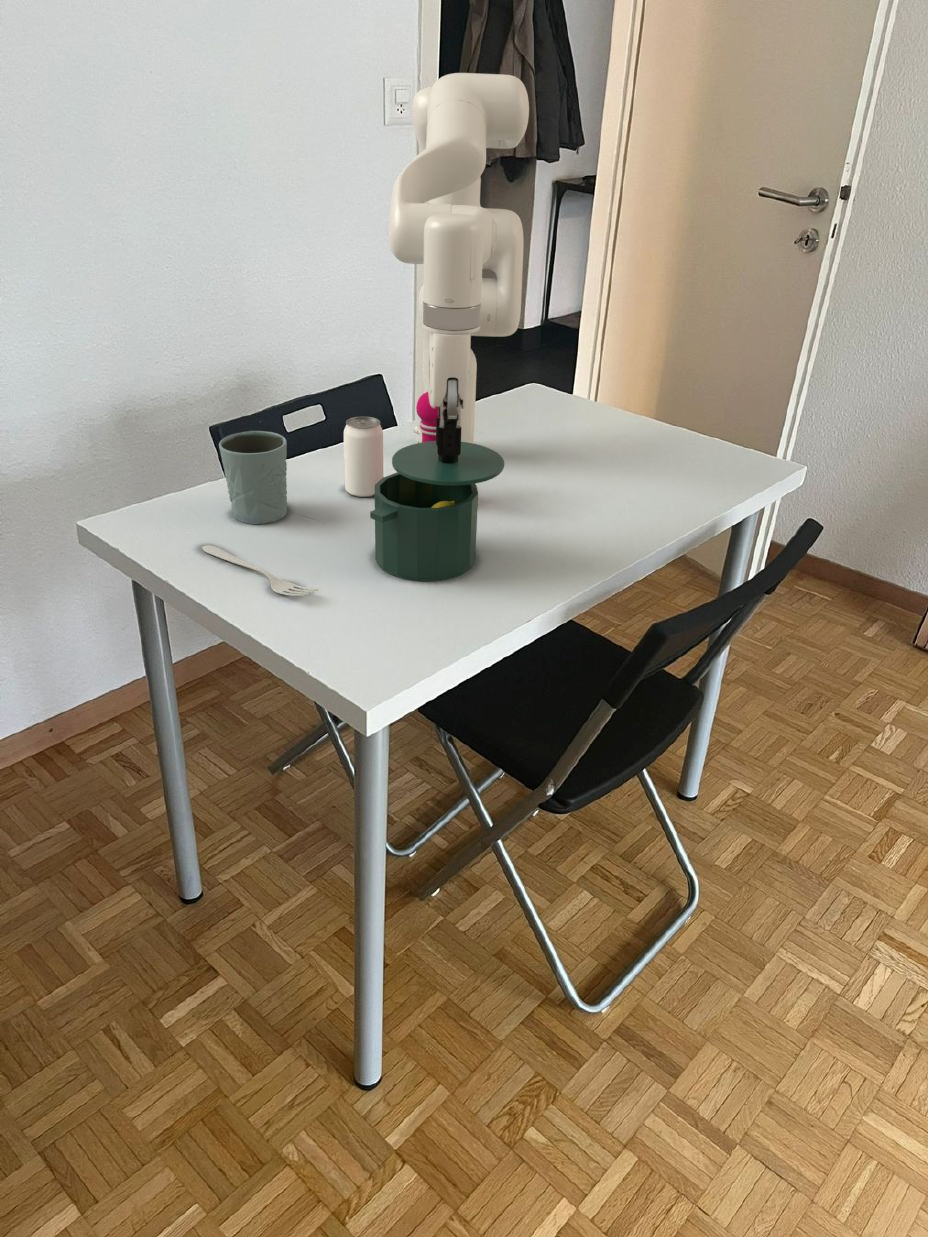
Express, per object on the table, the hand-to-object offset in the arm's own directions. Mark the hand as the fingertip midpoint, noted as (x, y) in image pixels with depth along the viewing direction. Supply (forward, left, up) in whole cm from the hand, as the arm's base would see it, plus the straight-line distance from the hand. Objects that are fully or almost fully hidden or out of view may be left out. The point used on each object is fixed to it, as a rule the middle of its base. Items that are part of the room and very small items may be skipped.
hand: (448, 449), depth 137 cm
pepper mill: (-17, +11, -17) cm, 26 cm away
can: (-27, +4, -17) cm, 32 cm away
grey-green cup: (-29, -15, -17) cm, 37 cm away
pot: (-1, -3, -17) cm, 17 cm away
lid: (0, 0, -2) cm, 2 cm away
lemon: (-1, -3, -15) cm, 16 cm away
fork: (-11, -25, -17) cm, 33 cm away
